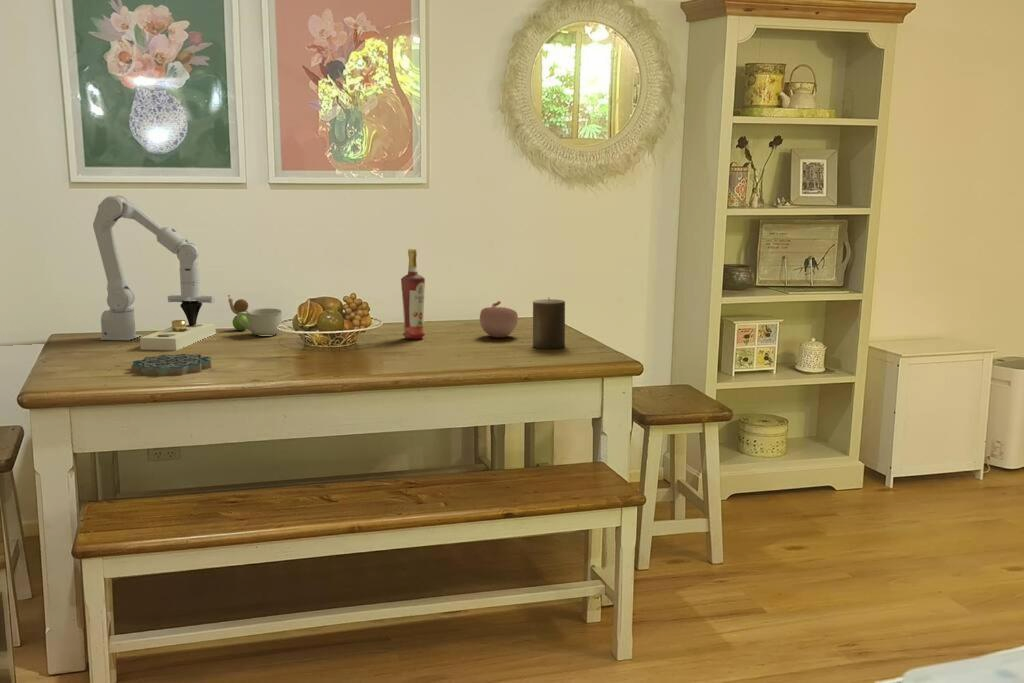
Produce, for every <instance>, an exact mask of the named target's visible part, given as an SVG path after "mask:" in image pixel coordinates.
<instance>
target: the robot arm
mask: <svg viewBox="0 0 1024 683" xmlns="http://www.w3.org/2000/svg"><path fill="white" fill-rule="evenodd" d="M121 218H123V219H130V220H134V221H135V222H136V223H139V224H140V225H141V226H143V227H144V228H145V229H147V230H148V231H149V232H151V233H152V234H154V235H155V236H156V241H157V242H158V243H159V244H160V245H162V247H165V249H167V250H168V251H170V252H171V253H172V254H173V255H176V257H177V260H179V280H180V295H179V294H178V295H168V296H167V303H180V304H179V306H180V308H181V309H182V311H183V313H184V315H185V317H186V319H187V323H189V326H194V325H196V324H197V320H198V316H199V312H200V310H201V308H202V306H203V303H208V304H214V303H215V296H213V295H201V284H200V283H201V282H200V268H199V260H198V257H199V255H200V251H199V248H198V247H197V246H196V244H195V243H193V242H190V240H189V239H188V238H186V239H185V237H183V236H182V235H181V234H179V233H178V232H177V231H178V230H177V229H176V228H174V227H172V228H171V227H170V226H165V227H163V226H162V225H161V224H160V223H159V222H157V221H156V220H155V219H154V218H152V217H151V216H150V215H149V214H147V213H146V212H145V211H144V210H143V209H142V208H140V207H139V206H138V205H136V204H135V203H134V202H132V201H130V200H128V199H127V198H126V197H125V196H122V195H113V196H111V195H110V196H107V197H105V198H104V199H103V200H102V201H100V203H99V204H98V205H97V211H96V214H95V217H94V220H93V223H92V227H93V230H94V234H95V235H94V236H95V239H96V242H97V246H98V250H99V253H100V257H101V261H102V262H101V263H102V265H103V270H104V273H105V278H106V281H107V286H106V290H107V296H106V304H107V306H108V308H109V309H108V310H107V309H106V310H104V311H103V312H102V313H101V316H100V325H101V326H100V328H101V338H100V341H101V340H102V341H132V340H134V338H135V339H137V337H138V338H140V337H139V336H141V337H143V336H142V334H136V329H137V328H136V318H135V317H136V316H135V315H136V314H135V307H133V303H134V302H135V299H136V298H135V296H136V295H135V293H134V292H133V290H132V289H131V288H130V286H129V283H128V281H127V279H126V278H125V275H124V274H125V273H124V270H123V266H122V263H121V259H120V255H119V251H118V248H117V247H118V246H117V244H116V240H115V236H114V232H113V227H114V226H115V225H116V224H117V222H118V220H120V219H121ZM131 339H132V340H131Z"/></svg>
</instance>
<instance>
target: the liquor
mask: <svg viewBox="0 0 1024 683" xmlns="http://www.w3.org/2000/svg"><path fill="white" fill-rule="evenodd" d="M417 250H418V248H409V249H407V256H408V269H407V270H408V272H407V274H406V275H404V276H402V278H400V279H401V280H400V283H401V284H400V286H401V297H402V298H401V300H402V312H403V331H404V332H403V333H402V336H403V337H404V338H405V339H406V340H411V341H417V340H418V341H419V340H422V339H423V337H424V336H425V335H426V334H425V332H424V319H425V318H424V317H425V316H424V315H425V314H424V312H425V310H424V309H425V307H424V306H425V288H426V286H425V285H426V284H425V282H426V279H425V277H423V276H422V275H420V274H418V273H419V272H418V264H417V256H418V253H417V252H418V251H417Z"/></svg>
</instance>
